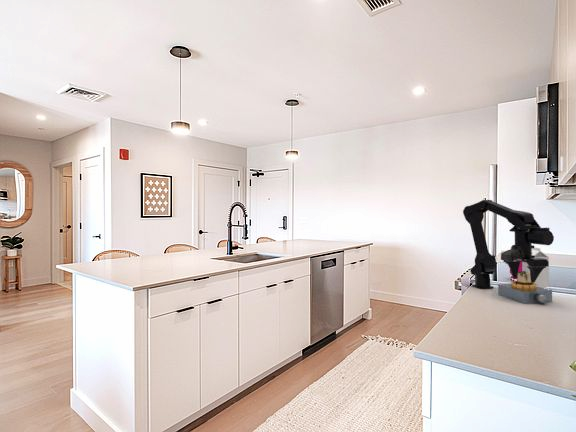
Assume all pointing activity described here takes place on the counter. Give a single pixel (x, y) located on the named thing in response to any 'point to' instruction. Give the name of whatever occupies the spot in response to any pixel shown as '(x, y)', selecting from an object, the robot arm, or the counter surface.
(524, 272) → the beige cylinder
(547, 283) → the milk carton
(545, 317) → the counter surface
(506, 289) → the gearbox
